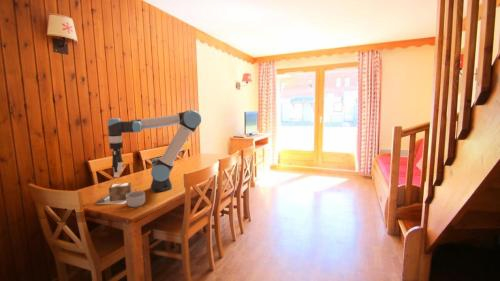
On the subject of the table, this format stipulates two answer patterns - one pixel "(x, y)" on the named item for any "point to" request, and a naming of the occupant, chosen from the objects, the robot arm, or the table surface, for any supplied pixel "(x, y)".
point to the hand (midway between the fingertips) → (118, 174)
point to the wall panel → (107, 201)
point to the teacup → (135, 198)
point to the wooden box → (119, 191)
